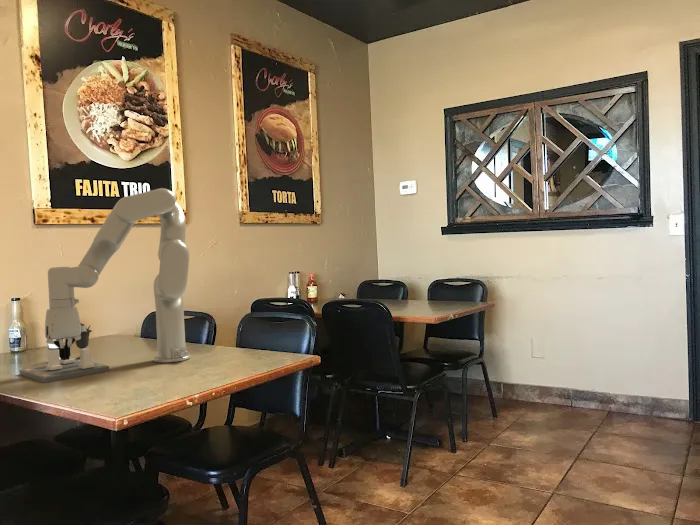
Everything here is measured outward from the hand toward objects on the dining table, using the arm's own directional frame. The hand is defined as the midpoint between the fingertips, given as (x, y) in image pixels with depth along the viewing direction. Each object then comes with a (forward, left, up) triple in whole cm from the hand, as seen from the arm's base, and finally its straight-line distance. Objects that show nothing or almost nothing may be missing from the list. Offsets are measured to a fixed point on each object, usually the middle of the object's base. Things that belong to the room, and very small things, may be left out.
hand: (65, 359), depth 194 cm
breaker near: (-8, -4, -2) cm, 9 cm away
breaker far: (+7, -4, -2) cm, 9 cm away
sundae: (+21, -15, -5) cm, 26 cm away
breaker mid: (0, +4, -2) cm, 4 cm away
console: (0, 0, -4) cm, 4 cm away
